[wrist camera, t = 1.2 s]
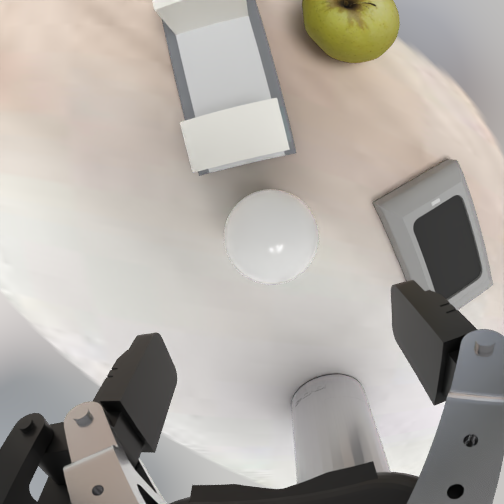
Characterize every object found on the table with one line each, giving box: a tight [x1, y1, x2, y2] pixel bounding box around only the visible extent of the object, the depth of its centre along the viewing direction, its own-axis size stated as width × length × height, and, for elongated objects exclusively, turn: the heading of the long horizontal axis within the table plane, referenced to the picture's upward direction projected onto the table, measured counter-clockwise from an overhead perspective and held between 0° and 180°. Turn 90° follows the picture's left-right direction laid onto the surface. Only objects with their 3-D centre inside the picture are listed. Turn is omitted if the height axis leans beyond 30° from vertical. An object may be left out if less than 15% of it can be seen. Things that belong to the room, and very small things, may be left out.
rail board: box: [162, 0, 296, 176], centre depth 24 cm, size 17×8×2 cm, turn 13°
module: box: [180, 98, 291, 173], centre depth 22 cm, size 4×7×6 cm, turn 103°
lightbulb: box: [224, 189, 319, 285], centre depth 24 cm, size 6×6×11 cm
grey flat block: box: [373, 159, 493, 310], centre depth 28 cm, size 10×4×15 cm
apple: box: [302, 0, 399, 63], centre depth 19 cm, size 8×8×10 cm
